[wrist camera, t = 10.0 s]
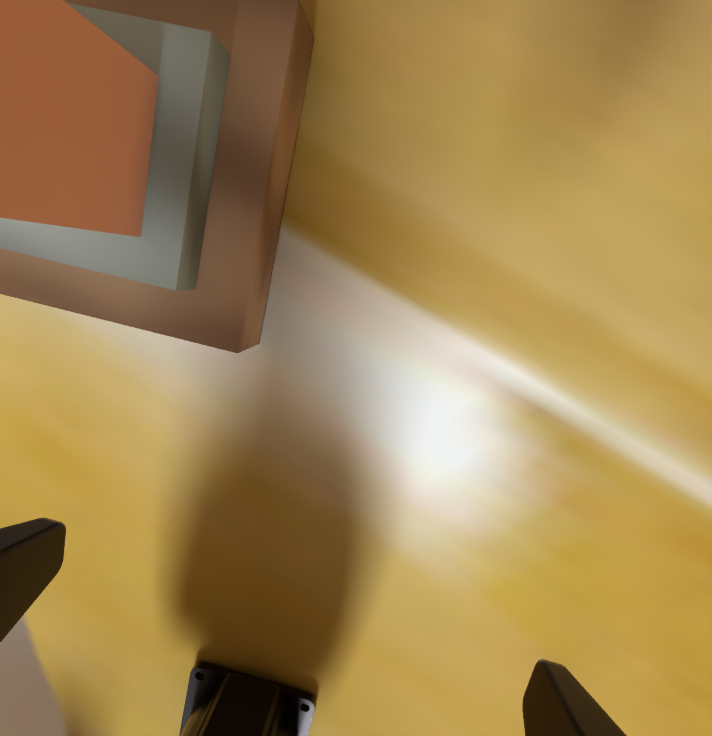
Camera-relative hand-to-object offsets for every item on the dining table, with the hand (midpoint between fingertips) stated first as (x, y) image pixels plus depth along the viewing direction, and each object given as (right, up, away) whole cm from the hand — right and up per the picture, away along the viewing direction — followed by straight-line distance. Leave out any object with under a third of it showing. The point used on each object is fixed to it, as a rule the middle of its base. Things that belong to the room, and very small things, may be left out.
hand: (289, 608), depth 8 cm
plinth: (-8, +13, +11) cm, 18 cm away
